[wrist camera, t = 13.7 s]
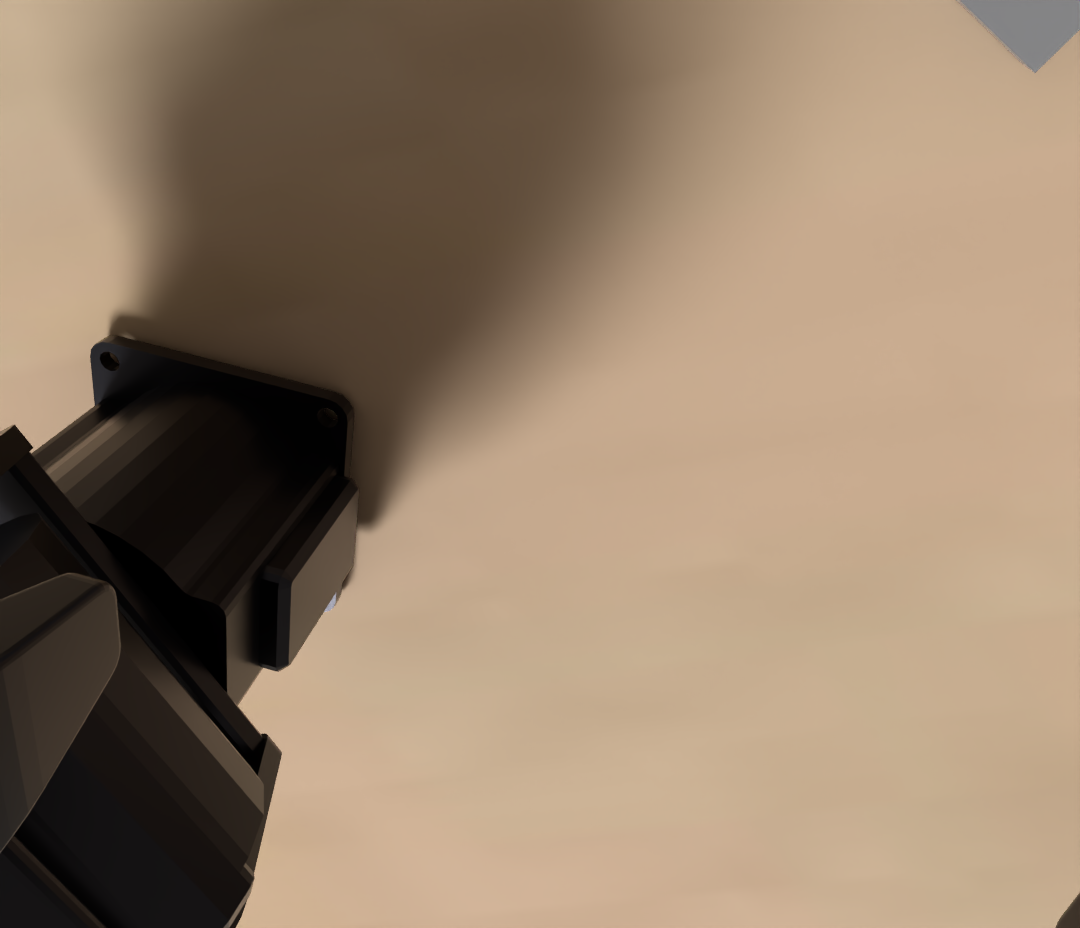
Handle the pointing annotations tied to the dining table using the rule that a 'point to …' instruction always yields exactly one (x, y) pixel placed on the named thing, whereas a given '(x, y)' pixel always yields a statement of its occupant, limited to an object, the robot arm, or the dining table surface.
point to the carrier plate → (1028, 25)
